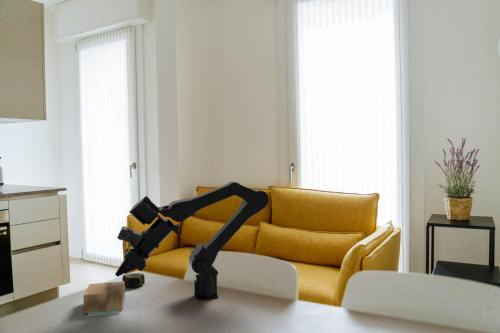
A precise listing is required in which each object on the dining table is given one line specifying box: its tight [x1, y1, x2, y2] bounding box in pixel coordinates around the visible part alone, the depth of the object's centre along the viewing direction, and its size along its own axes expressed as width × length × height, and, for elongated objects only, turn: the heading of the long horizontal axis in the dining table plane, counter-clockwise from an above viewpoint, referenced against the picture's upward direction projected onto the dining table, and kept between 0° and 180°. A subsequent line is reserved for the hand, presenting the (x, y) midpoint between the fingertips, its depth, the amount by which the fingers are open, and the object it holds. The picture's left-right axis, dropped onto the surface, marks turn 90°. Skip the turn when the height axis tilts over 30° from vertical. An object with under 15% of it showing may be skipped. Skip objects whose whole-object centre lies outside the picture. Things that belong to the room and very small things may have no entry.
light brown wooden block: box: [83, 280, 126, 314], centre depth 117 cm, size 5×10×10 cm
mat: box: [87, 310, 121, 318], centre depth 117 cm, size 8×14×1 cm, turn 13°
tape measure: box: [122, 273, 146, 288], centre depth 135 cm, size 7×7×4 cm
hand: (116, 275), depth 117 cm, fingers closed
